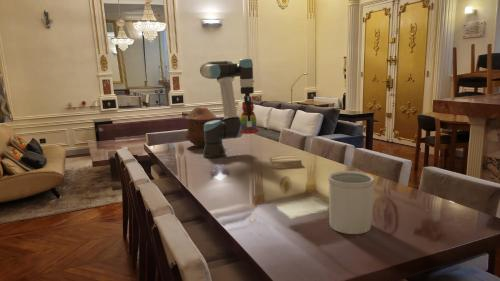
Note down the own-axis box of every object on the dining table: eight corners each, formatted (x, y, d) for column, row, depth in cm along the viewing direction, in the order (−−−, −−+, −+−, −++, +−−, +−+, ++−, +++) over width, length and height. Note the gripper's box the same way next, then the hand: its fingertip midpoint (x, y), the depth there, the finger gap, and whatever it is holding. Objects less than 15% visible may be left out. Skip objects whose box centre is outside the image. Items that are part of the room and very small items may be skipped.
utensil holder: (364, 216, 131) (365, 169, 128) (380, 234, 116) (381, 181, 113) (324, 218, 130) (323, 171, 127) (335, 236, 116) (334, 184, 113)
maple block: (269, 162, 219) (269, 156, 218) (295, 161, 220) (295, 154, 219) (273, 169, 203) (273, 162, 202) (301, 167, 204) (301, 160, 203)
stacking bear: (258, 130, 215) (257, 100, 212) (257, 133, 205) (256, 102, 202) (240, 131, 216) (239, 101, 213) (238, 134, 206) (237, 103, 203)
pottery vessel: (183, 144, 287) (180, 107, 281) (215, 141, 294) (212, 105, 289) (188, 150, 262) (185, 109, 257) (222, 147, 270) (220, 107, 264)
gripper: (255, 86, 195) (256, 127, 199) (251, 85, 216) (253, 122, 221) (241, 87, 194) (243, 128, 199) (239, 86, 216) (241, 123, 220)
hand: (248, 125), depth 210 cm, fingers closed on stacking bear, 9 cm apart
